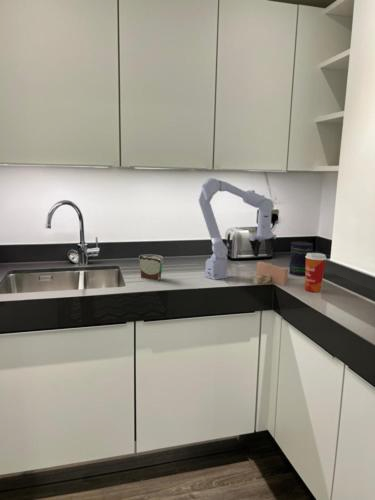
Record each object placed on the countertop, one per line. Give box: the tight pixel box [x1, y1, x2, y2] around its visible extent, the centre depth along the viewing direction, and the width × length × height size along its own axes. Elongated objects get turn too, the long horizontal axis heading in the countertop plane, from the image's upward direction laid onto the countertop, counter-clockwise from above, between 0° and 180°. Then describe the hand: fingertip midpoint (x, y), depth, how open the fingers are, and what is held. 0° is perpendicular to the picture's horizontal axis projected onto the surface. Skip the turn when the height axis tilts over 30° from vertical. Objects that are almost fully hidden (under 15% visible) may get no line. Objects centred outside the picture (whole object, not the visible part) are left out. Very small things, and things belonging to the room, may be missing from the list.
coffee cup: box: [304, 252, 327, 294], centre depth 152 cm, size 8×8×15 cm
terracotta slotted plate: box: [255, 261, 289, 286], centre depth 165 cm, size 16×2×7 cm, turn 35°
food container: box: [138, 253, 165, 282], centre depth 164 cm, size 12×6×10 cm, turn 59°
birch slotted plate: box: [252, 274, 289, 285], centre depth 166 cm, size 20×2×3 cm, turn 125°
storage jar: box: [288, 240, 314, 277], centre depth 179 cm, size 10×10×15 cm
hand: (261, 255), depth 169 cm, fingers open, 7 cm apart
